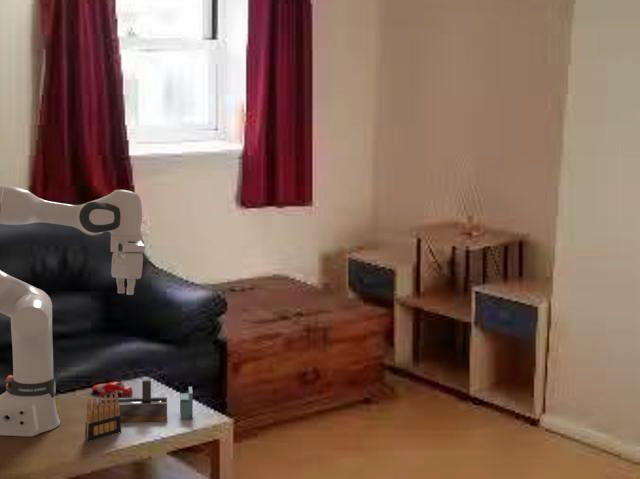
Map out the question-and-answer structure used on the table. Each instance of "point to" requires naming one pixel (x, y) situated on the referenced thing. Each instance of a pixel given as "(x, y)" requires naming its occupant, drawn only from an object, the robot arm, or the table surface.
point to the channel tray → (141, 410)
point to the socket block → (186, 404)
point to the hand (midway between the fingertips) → (125, 294)
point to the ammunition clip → (103, 418)
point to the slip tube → (145, 392)
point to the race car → (112, 389)
